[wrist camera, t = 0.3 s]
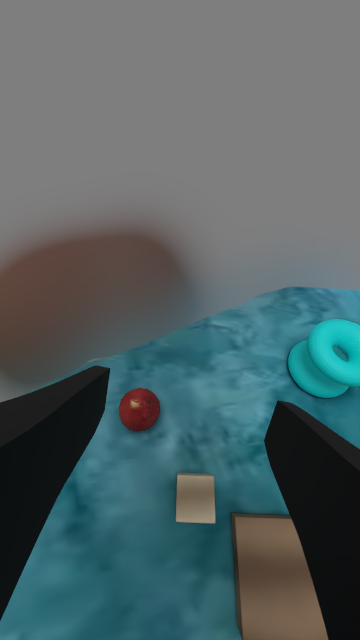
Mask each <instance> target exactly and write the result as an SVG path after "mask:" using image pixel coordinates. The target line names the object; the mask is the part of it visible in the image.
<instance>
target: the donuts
mask: <svg viewBox="0 0 360 640" xmlns="http://www.w3.org/2000/svg"><path fill="white" fill-rule="evenodd" d="M335 346H338V347H340V348H342V349H343V350H344V351H345V352H346V353H347V355H348V359H347V358H346V356H345V355H344V354H343V353H342V352H341V351H340V350H339V349H338V348H337V347H335ZM288 367H289V371H290V373H291V376H292V377H293V379H294V380H295V382H296V383H297V384H298V385H299V386H300V387H301V388H302V389H303V390H305V391H306V392H308V393H310V394H312V395H314V396H317V397H322V398H333V397H336V396H339V395H341V394H343V393H344V392H345V391H346V390H347V389H348V388H349V386H354V387H356V386H360V325H358V324H355V323H353V322H350V321H347V320H341V319H332V320H326V321H323V322H321V323H319V324H318V325H316V326H315V327H314V328H313V329H312V330H311V332H310V334H309V336H308V339H307V340H304V341H302V342H300V343H298V344H296V345H295V346H294V347H293V348H292V350H291V352H290V354H289V357H288Z"/></svg>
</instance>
